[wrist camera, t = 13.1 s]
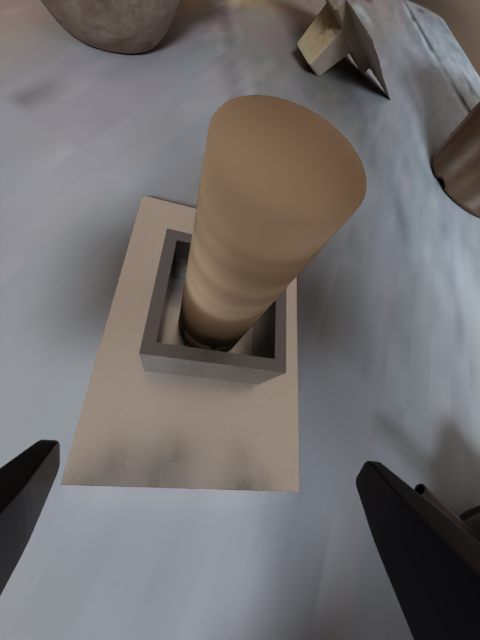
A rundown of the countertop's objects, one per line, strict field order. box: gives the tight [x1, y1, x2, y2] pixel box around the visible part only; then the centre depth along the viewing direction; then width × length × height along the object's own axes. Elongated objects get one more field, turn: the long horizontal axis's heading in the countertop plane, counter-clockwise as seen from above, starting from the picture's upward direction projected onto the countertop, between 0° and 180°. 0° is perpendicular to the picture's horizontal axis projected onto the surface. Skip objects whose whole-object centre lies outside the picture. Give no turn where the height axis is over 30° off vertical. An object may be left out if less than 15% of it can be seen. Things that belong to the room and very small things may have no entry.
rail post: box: [178, 95, 366, 352], centre depth 12 cm, size 4×4×12 cm
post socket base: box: [61, 196, 299, 492], centre depth 16 cm, size 18×12×5 cm, turn 175°
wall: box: [297, 0, 390, 99], centre depth 33 cm, size 16×9×15 cm
